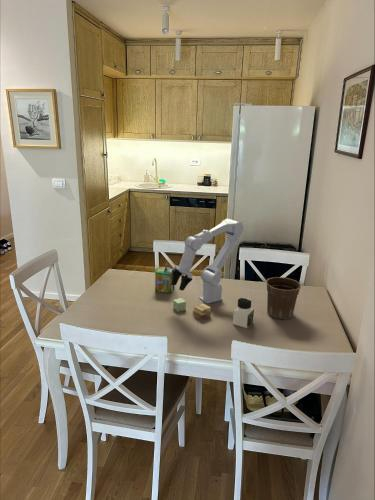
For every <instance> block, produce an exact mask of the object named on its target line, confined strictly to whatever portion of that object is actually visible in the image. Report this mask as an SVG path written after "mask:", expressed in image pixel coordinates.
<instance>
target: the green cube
mask: <svg viewBox="0 0 375 500" xmlns="http://www.w3.org/2000/svg"><path fill="white" fill-rule="evenodd" d="M172 300H173V302H172V303H173V307H172V308H173V309H174V310H175V311H176V312H181V311H186V309H187V308H186V306H187V301H186V300H185V299H184V298H183V297H180V298H176V299H172Z"/></svg>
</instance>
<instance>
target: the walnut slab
mask: <svg viewBox="0 0 375 500" xmlns="http://www.w3.org/2000/svg"><path fill="white" fill-rule="evenodd" d="M211 315H212V314H211V312H210V313H207V314H205V315H200V314H198V313H196V312H195V311H194V309H193V310H192V316H195V318H197V319H198V320H200V321H201V320H204V319H208V318H210V317H211Z"/></svg>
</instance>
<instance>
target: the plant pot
mask: <svg viewBox="0 0 375 500" xmlns="http://www.w3.org/2000/svg"><path fill="white" fill-rule="evenodd" d="M265 284H266V291H267V297H266V298H267V302H266V303H267V308H266V309H267V310H266V311H267V314H268V316H270V317H272V318H274V319H277V320H278V319H282V320H289V319H291V318H293V316H294V312H295V306H296V304H297V298H298V295H299V293H300V290H301V288H302V284H301V282H299V281H297V280H296V279H292V278H288V277H284V276H283V277H280V276H279V277H278V276H275V277H269V278H267V279H266V280H265Z"/></svg>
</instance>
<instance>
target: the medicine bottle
mask: <svg viewBox="0 0 375 500" xmlns="http://www.w3.org/2000/svg"><path fill="white" fill-rule="evenodd" d="M254 312H255V308H253V307H252V300H251V299H250V298H247V297H240V298H238V299H237V307H236V308H235V309H234V310H233V314H232V315H233V316H232V324H233V326H234V325H235V326H238V327H241V328H245V329H248V328H249V327H250V326H251V325H252V324H253V322H254V314H255V313H254Z"/></svg>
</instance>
